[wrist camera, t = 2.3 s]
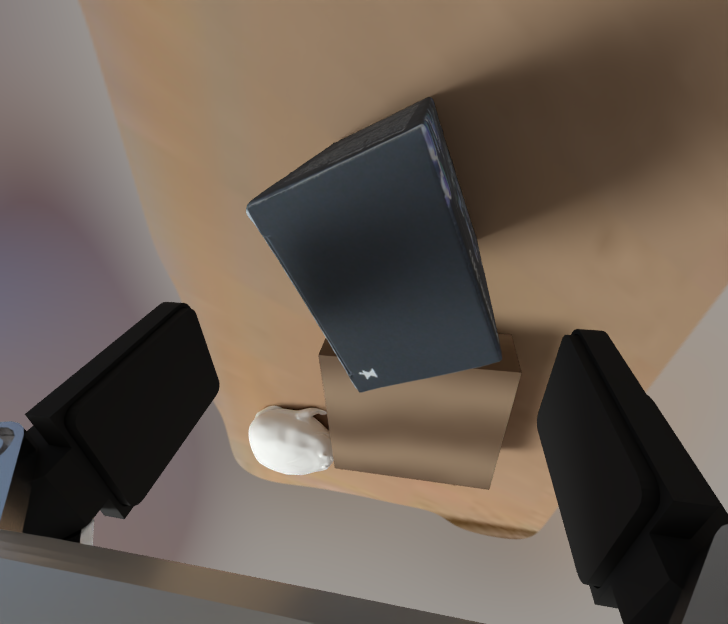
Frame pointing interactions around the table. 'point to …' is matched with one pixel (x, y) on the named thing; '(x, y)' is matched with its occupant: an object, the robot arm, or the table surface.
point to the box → (385, 252)
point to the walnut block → (423, 421)
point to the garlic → (291, 440)
